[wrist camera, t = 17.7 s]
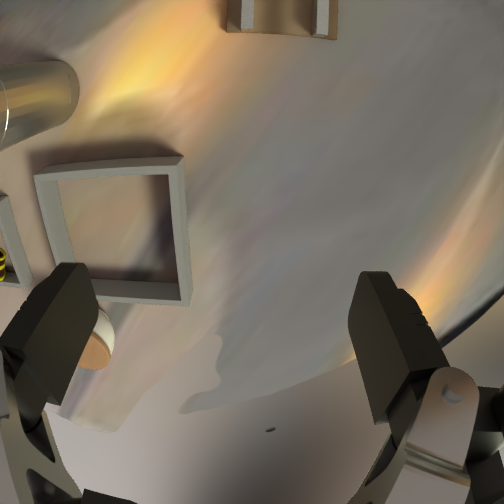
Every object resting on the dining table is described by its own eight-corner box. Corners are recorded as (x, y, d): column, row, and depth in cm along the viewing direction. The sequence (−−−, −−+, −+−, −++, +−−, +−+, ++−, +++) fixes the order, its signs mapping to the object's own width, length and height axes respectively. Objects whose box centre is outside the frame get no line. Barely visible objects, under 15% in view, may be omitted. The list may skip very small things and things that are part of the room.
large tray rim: (77, 282, 47) (67, 297, 43) (48, 165, 36) (33, 175, 33) (193, 288, 47) (189, 306, 44) (183, 156, 36) (176, 165, 33)
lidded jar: (126, 309, 50) (109, 351, 42) (117, 346, 55) (104, 384, 47) (70, 286, 47) (46, 323, 39) (68, 325, 52) (49, 361, 44)
